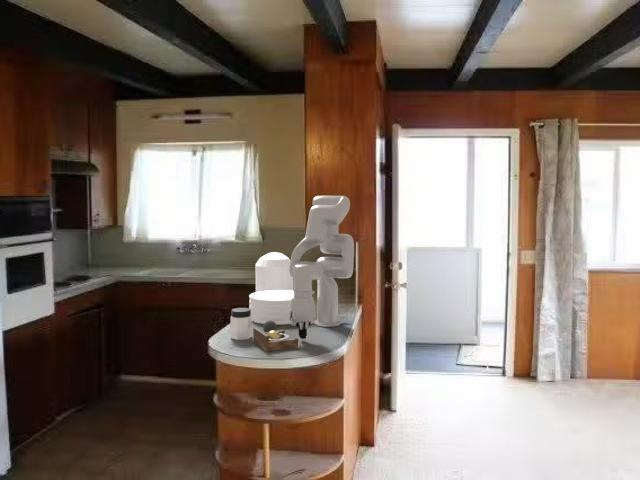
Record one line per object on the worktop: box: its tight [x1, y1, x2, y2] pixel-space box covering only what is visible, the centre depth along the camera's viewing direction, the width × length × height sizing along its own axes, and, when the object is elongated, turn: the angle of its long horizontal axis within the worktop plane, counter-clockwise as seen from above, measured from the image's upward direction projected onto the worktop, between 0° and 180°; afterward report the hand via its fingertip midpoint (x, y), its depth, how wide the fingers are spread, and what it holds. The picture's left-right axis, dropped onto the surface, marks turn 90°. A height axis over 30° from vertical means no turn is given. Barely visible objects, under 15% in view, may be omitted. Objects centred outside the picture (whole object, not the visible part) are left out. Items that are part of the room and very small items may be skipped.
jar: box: [230, 307, 253, 341], centre depth 236 cm, size 9×8×12 cm
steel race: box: [266, 333, 290, 342], centre depth 225 cm, size 11×11×4 cm
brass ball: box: [267, 330, 281, 339], centre depth 224 cm, size 6×6×6 cm
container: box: [254, 251, 294, 292], centre depth 312 cm, size 21×21×28 cm
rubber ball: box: [262, 320, 278, 333], centre depth 242 cm, size 6×6×6 cm
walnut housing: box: [252, 327, 299, 352], centre depth 225 cm, size 14×15×6 cm
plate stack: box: [248, 290, 294, 325], centre depth 273 cm, size 28×28×12 cm
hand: (302, 337), depth 231 cm, fingers closed
